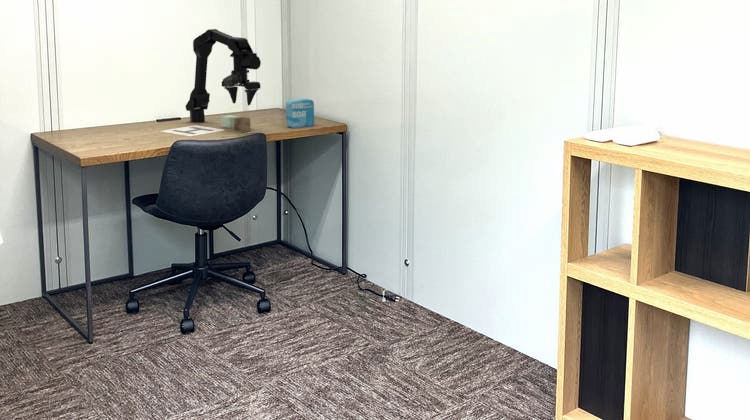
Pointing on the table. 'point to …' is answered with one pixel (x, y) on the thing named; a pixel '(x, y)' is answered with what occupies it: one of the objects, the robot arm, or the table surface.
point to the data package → (300, 113)
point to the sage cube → (228, 121)
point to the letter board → (192, 130)
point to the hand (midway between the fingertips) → (241, 104)
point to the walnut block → (242, 123)
